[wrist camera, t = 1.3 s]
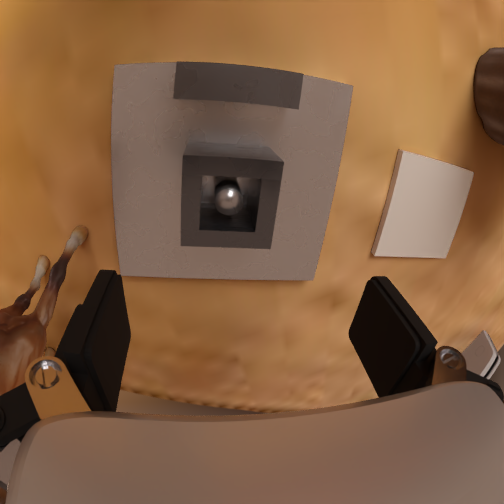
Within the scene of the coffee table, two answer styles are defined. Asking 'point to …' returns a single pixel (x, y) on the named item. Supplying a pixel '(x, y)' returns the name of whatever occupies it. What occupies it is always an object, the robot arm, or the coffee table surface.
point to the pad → (422, 207)
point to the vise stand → (220, 187)
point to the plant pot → (491, 92)
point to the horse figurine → (32, 318)
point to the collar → (253, 213)
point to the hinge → (482, 356)
